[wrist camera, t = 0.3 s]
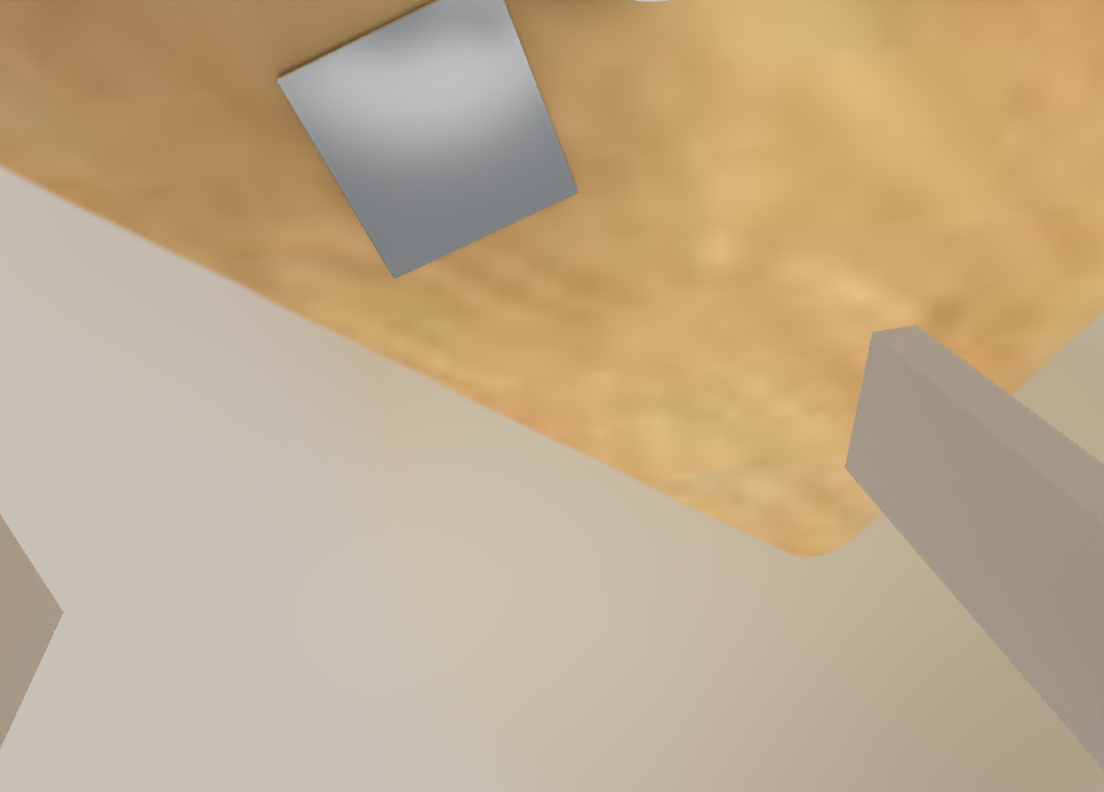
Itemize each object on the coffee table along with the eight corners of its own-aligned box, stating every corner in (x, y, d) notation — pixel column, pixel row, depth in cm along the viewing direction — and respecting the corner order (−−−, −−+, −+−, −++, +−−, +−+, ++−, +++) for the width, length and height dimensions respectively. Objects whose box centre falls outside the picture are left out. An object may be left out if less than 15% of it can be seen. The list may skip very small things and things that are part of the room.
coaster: (278, 77, 31) (276, 80, 30) (491, -28, 30) (493, -27, 30) (394, 272, 37) (394, 279, 36) (574, 187, 36) (578, 192, 36)
